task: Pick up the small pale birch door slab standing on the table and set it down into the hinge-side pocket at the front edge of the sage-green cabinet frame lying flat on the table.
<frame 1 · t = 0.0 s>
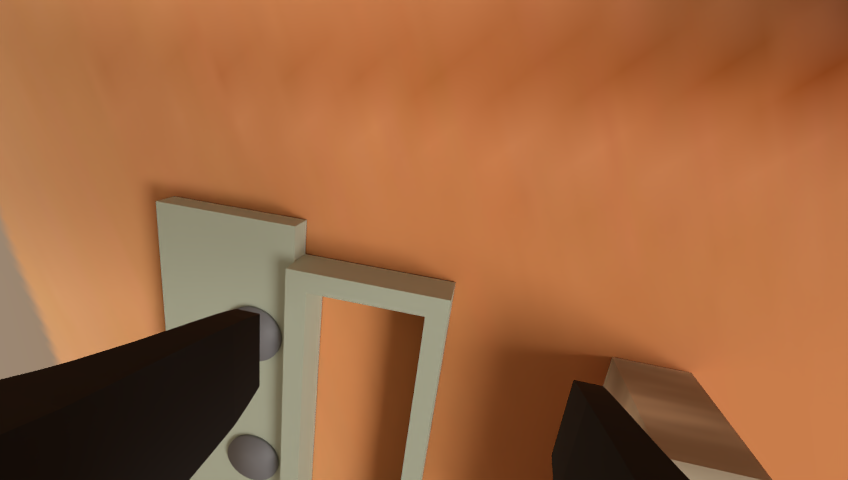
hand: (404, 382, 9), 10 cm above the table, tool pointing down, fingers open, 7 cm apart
birch door: (614, 462, 21), on the table
sage cabinet frame: (299, 392, 23), on the table
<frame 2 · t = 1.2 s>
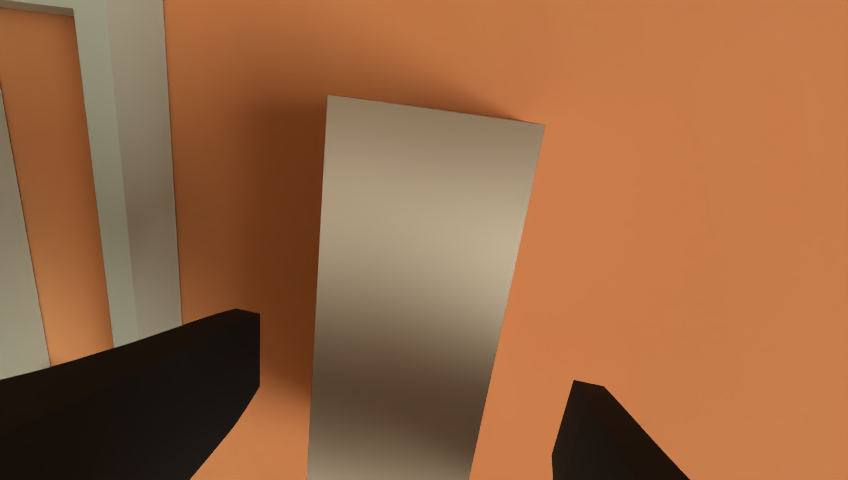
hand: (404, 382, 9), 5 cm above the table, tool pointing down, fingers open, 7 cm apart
birch door: (433, 294, 14), on the table
sage cabinet frame: (1, 212, 16), on the table
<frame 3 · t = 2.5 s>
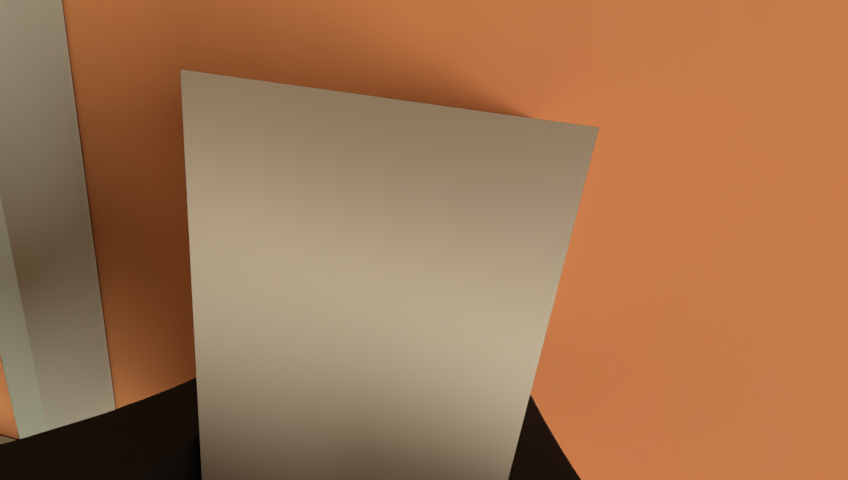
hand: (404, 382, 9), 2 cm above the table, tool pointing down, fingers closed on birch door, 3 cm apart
birch door: (417, 343, 11), on the table, touching gripper
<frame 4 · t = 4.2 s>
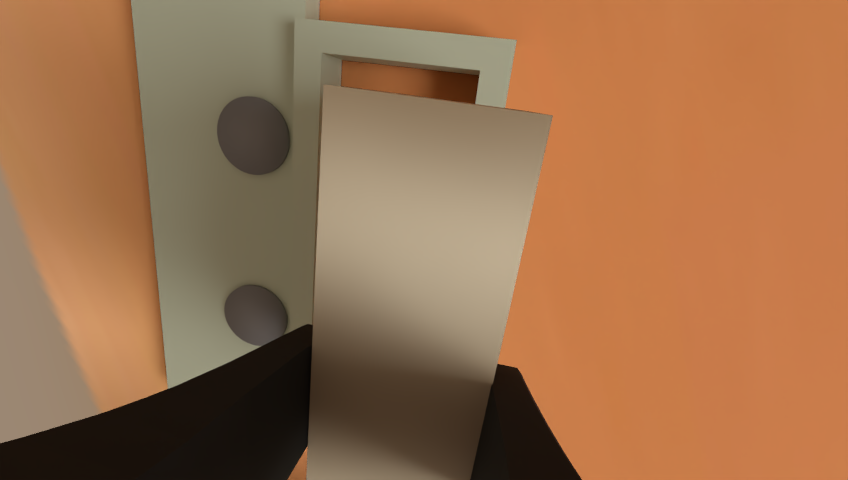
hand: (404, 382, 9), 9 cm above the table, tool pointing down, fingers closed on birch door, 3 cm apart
birch door: (434, 289, 14), point 4 cm above the table, touching gripper
sage cabinet frame: (312, 231, 18), on the table
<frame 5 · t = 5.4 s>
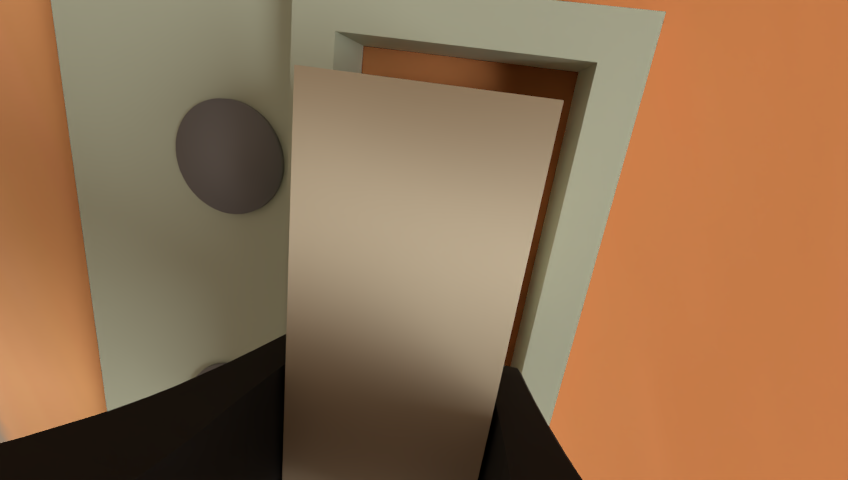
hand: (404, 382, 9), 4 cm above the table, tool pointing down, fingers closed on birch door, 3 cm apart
birch door: (431, 300, 13), resting in sage cabinet frame, touching gripper
sage cabinet frame: (314, 289, 13), on the table
when the fingers open (3 cm above the table, at t = 6.3 s): birch door stays where it is, resting in sage cabinet frame.
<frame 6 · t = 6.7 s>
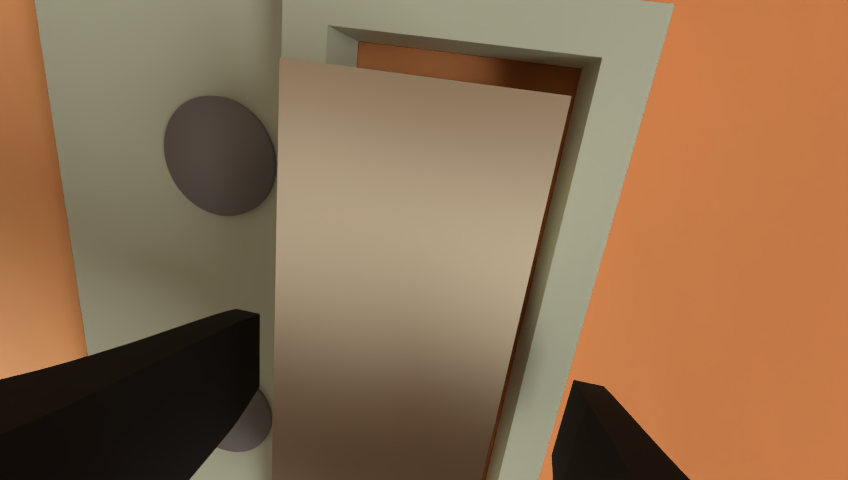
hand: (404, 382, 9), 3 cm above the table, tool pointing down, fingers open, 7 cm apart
birch door: (429, 304, 12), resting in sage cabinet frame
sage cabinet frame: (309, 292, 13), on the table
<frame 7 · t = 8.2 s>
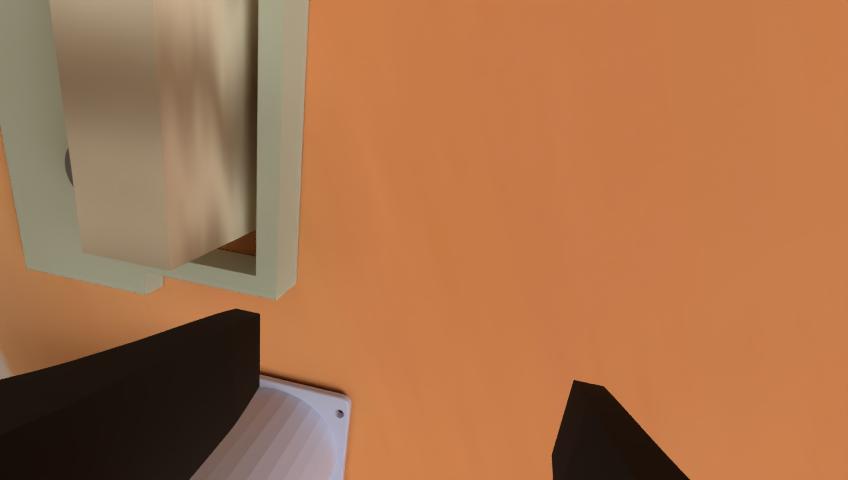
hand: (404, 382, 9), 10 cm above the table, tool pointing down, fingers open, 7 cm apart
birch door: (227, 93, 18), resting in sage cabinet frame
sage cabinet frame: (149, 88, 19), on the table
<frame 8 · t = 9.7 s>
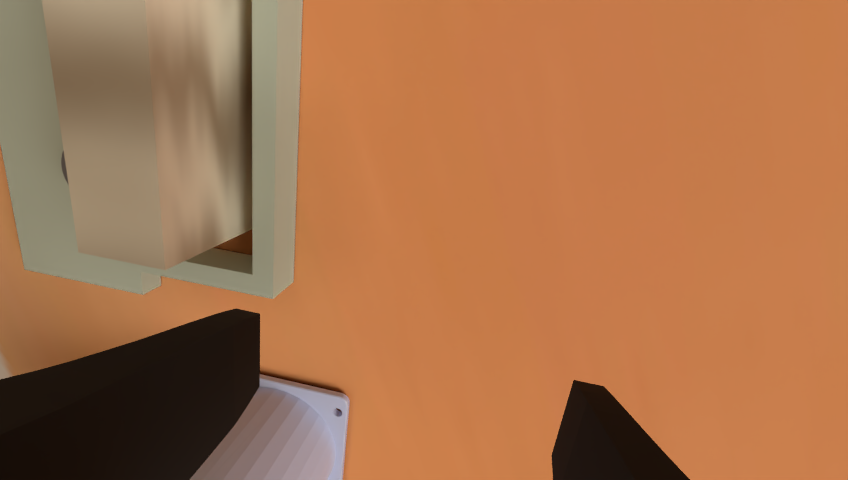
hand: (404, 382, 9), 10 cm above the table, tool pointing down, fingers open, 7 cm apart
birch door: (222, 92, 18), resting in sage cabinet frame
sage cabinet frame: (145, 88, 19), on the table
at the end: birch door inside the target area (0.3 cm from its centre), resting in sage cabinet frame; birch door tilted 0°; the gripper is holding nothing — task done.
